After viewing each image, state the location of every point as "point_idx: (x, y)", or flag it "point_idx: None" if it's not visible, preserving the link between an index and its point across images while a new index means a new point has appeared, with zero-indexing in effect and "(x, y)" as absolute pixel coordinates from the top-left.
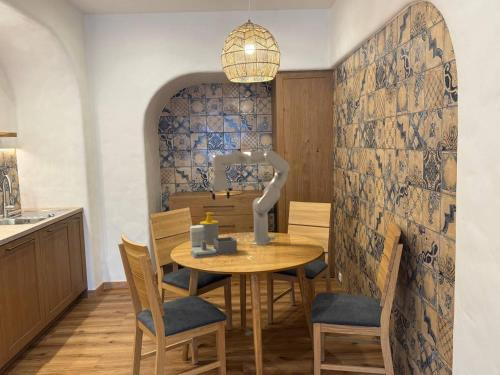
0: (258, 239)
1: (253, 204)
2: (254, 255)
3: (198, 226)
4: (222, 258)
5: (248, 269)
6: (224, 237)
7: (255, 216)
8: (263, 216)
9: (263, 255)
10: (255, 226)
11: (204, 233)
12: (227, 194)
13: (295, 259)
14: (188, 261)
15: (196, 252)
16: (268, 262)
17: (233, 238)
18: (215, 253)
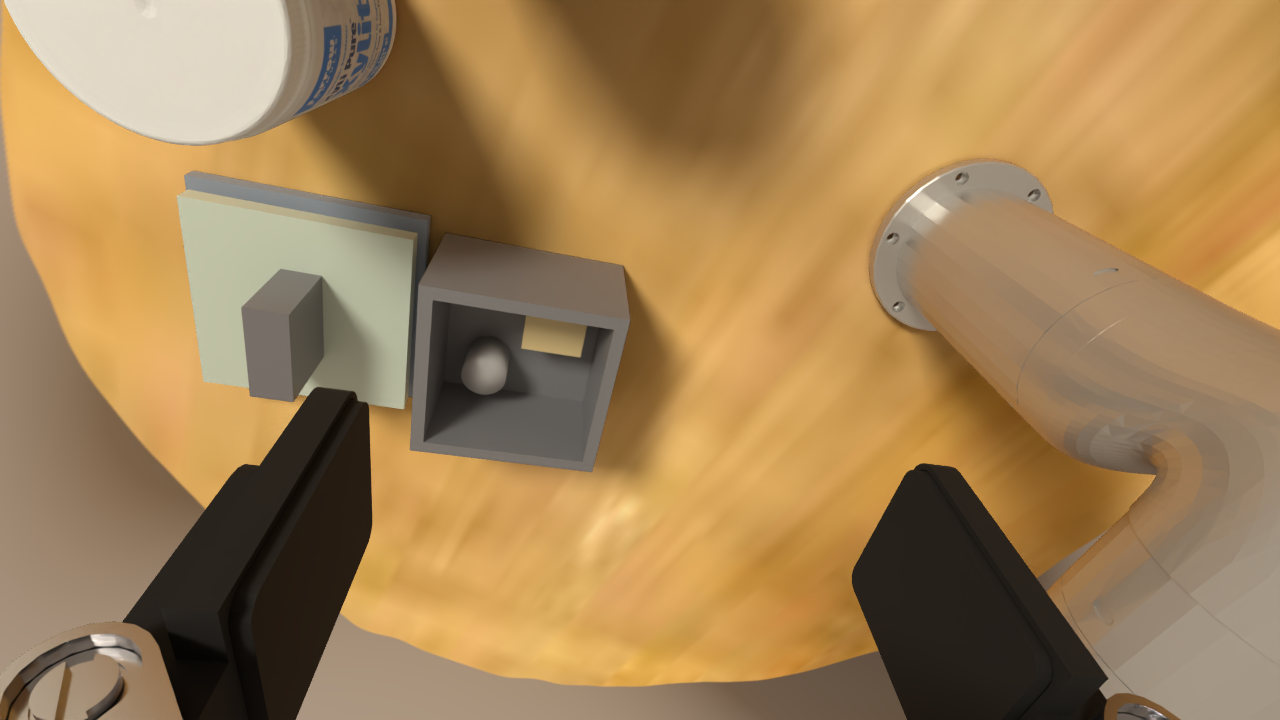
0: (915, 304)
1: (1247, 523)
2: (658, 507)
3: (177, 37)
4: (432, 466)
5: (487, 668)
6: (551, 307)
7: (1068, 420)
8: (1124, 471)
9: (703, 531)
10: (983, 342)
11: (335, 74)
12: (925, 671)
13: (781, 647)
14: (155, 411)
15: (215, 378)
16: (637, 632)
17: (609, 396)
18: (409, 375)
